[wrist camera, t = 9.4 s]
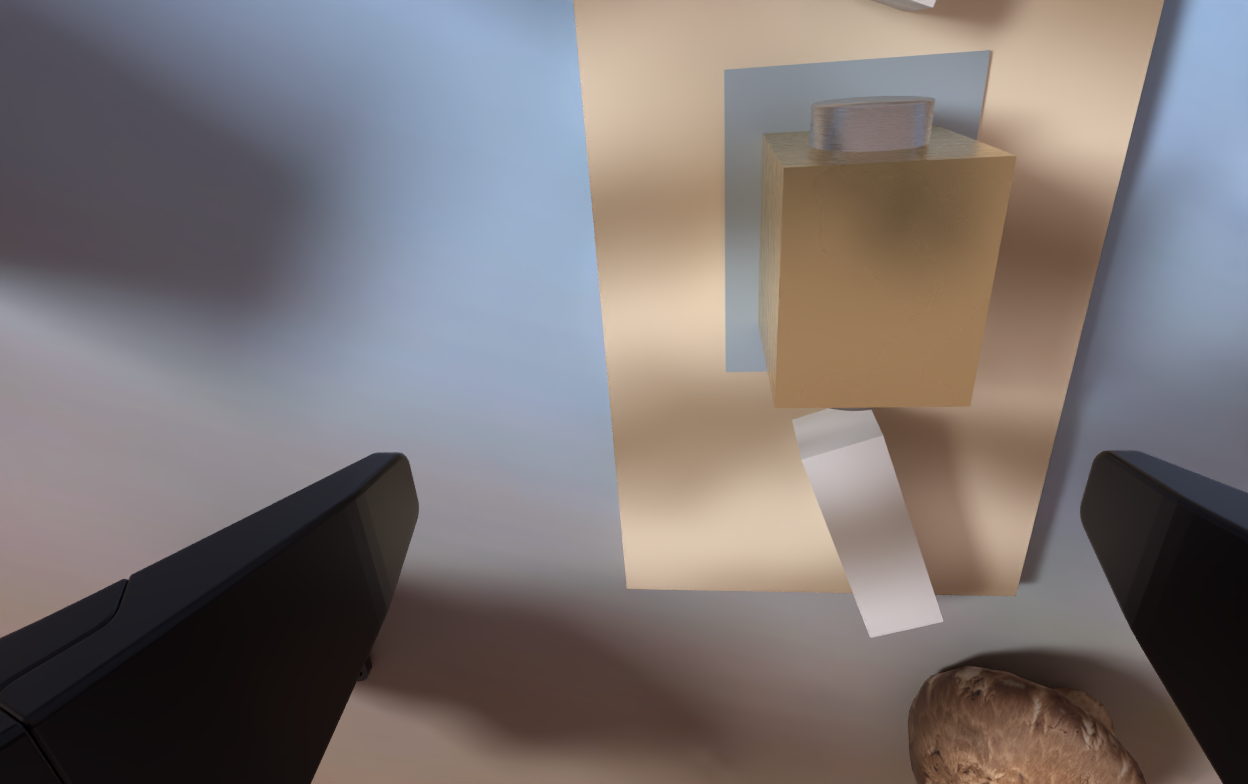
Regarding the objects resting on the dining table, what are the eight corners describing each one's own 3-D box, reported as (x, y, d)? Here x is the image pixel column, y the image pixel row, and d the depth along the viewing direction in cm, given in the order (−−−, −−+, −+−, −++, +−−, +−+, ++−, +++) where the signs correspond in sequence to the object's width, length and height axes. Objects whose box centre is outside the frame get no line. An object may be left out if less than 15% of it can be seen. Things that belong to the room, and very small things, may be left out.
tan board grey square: (1003, 575, 24) (1044, 648, 21) (629, 569, 25) (620, 636, 22) (1255, -495, 12) (1420, -653, 9) (546, -382, 14) (507, -489, 11)
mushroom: (1247, 759, 22) (1215, 942, 18) (1065, 795, 28) (1014, 937, 25) (1030, 579, 24) (964, 711, 21) (905, 648, 30) (837, 759, 27)
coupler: (763, 98, 17) (785, 120, 12) (937, 87, 16) (1025, 106, 12) (757, 349, 20) (773, 440, 15) (903, 345, 19) (964, 439, 15)
